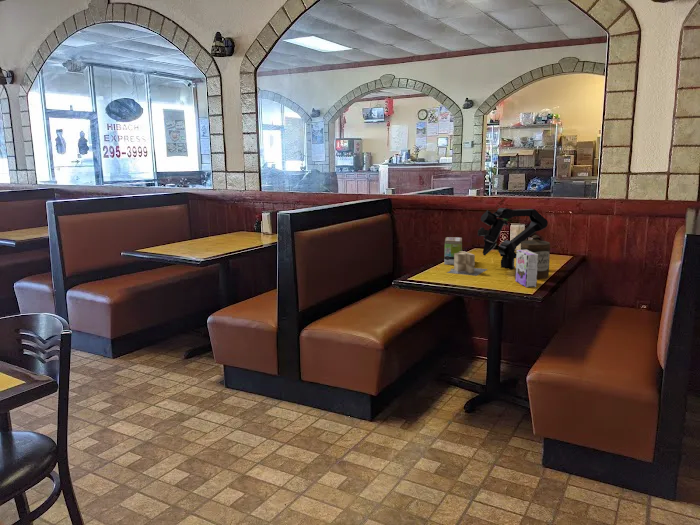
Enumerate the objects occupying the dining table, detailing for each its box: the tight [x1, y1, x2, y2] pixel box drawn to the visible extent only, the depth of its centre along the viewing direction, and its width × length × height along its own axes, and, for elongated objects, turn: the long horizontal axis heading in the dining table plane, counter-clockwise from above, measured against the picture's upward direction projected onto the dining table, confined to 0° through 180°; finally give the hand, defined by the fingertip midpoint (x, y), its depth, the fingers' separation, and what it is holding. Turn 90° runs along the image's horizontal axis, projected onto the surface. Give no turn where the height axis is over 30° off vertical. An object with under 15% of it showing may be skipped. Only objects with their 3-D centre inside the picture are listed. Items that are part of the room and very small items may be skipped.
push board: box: [446, 267, 488, 277], centre depth 307 cm, size 17×18×2 cm
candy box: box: [515, 249, 538, 288], centre depth 276 cm, size 14×6×16 cm, turn 5°
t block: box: [453, 250, 476, 273], centre depth 306 cm, size 8×12×10 cm, turn 18°
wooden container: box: [520, 234, 551, 280], centre depth 292 cm, size 15×15×22 cm
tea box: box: [443, 236, 463, 265], centre depth 331 cm, size 15×10×15 cm, turn 168°
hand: (483, 254), depth 309 cm, fingers open, 9 cm apart
